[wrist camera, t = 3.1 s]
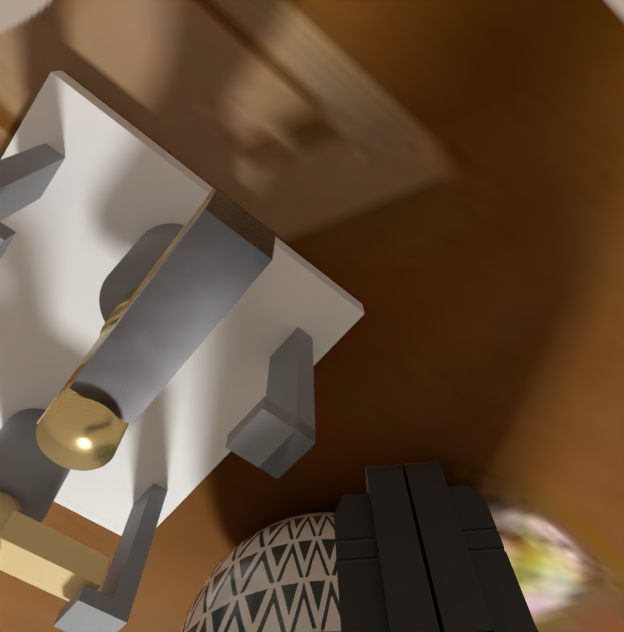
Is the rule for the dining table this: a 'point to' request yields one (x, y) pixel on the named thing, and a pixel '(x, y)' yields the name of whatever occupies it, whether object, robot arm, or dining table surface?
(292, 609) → the planter
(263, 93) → the dining table surface
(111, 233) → the lock board
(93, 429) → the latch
